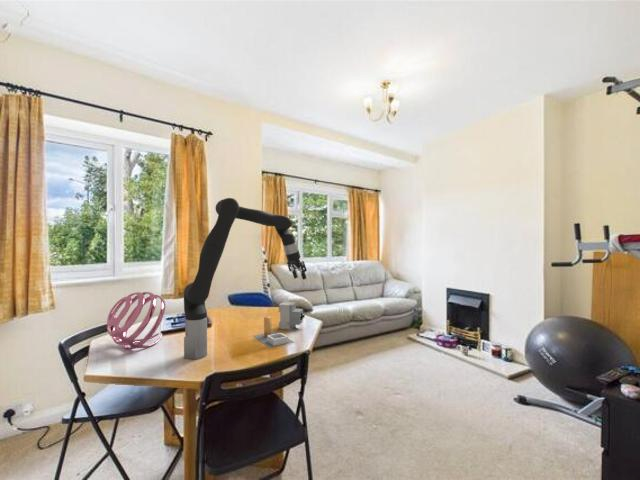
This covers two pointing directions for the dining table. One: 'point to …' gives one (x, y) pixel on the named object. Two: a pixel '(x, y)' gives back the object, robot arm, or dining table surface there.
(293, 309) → the circuit breaker
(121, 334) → the spiral basket
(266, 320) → the wooden peg
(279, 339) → the lockout board
